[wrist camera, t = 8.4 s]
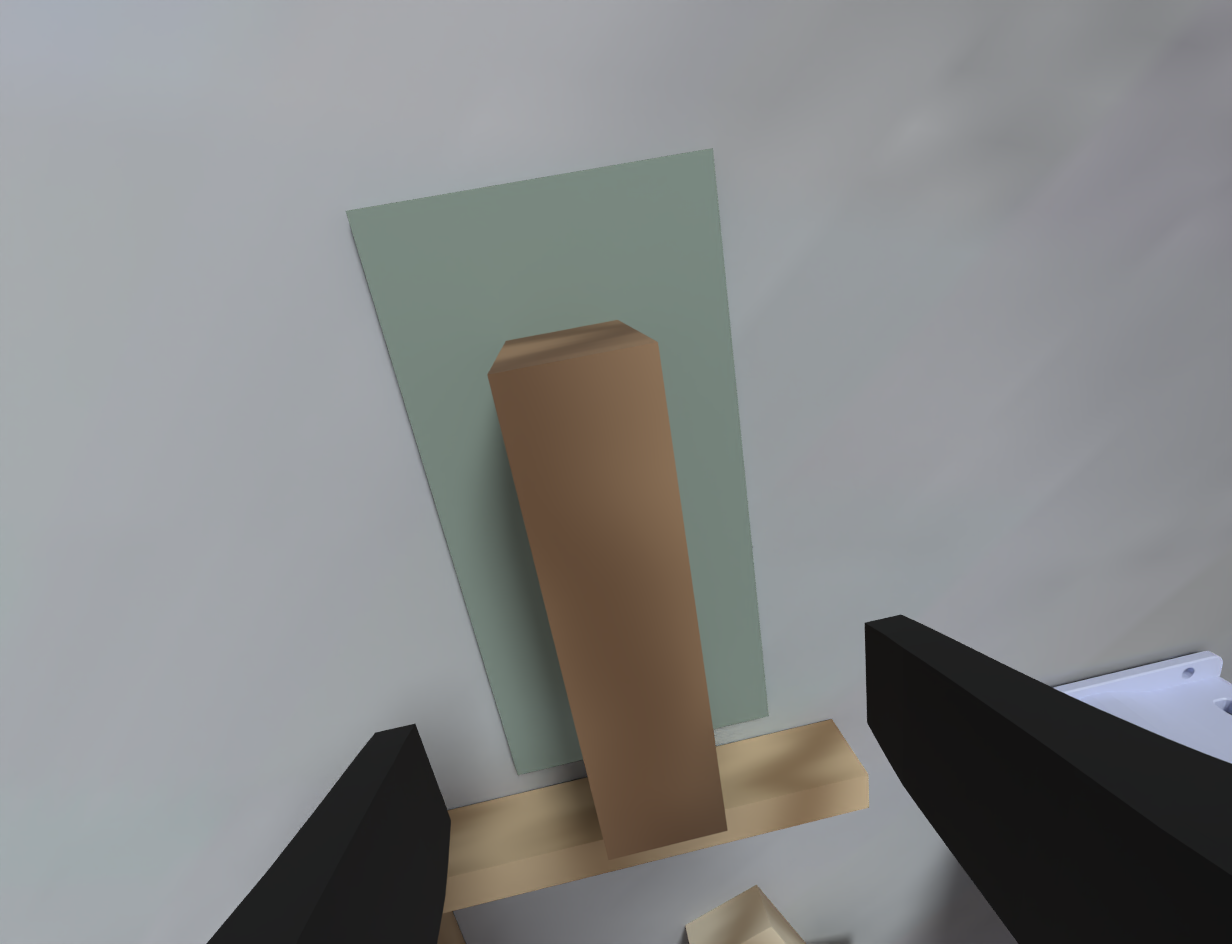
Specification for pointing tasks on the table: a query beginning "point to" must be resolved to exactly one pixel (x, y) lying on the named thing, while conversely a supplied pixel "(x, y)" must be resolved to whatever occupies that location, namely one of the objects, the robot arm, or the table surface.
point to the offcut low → (743, 923)
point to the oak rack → (574, 849)
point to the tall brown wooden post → (614, 574)
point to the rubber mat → (548, 302)
